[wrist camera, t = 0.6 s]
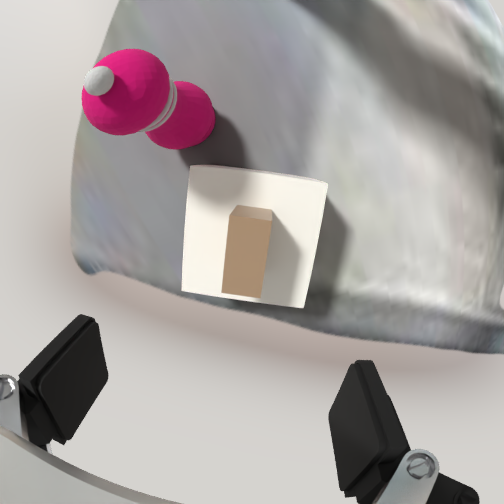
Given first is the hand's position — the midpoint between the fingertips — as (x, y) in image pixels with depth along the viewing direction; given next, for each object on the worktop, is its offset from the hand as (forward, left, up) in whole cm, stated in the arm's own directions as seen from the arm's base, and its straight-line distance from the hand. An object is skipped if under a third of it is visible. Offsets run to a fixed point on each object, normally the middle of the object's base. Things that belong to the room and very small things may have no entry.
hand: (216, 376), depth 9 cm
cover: (0, 0, -25) cm, 25 cm away
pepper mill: (-11, -9, -25) cm, 29 cm away
